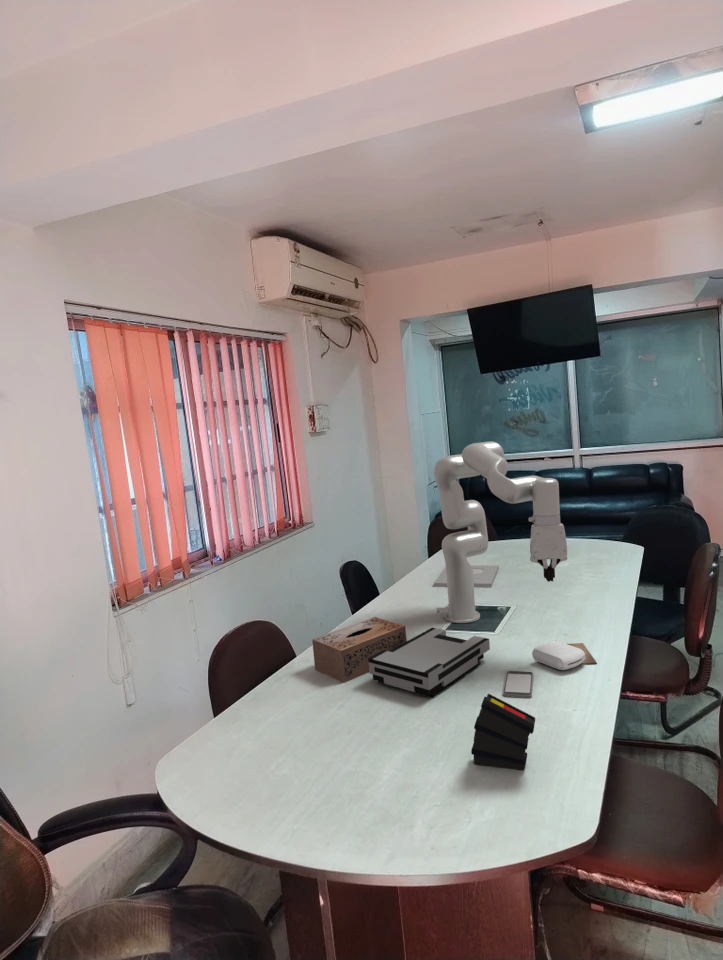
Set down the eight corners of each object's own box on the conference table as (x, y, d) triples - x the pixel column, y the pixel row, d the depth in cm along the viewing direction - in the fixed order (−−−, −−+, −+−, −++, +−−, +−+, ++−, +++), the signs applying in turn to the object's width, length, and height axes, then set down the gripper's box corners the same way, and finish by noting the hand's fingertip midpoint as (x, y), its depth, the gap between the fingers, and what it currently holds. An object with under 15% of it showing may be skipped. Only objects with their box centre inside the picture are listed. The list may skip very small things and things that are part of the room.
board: (554, 665, 180) (554, 664, 180) (543, 646, 195) (543, 644, 195) (596, 664, 179) (596, 662, 179) (582, 644, 194) (582, 643, 194)
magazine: (461, 747, 138) (486, 691, 134) (517, 778, 135) (545, 721, 131) (457, 756, 135) (484, 699, 131) (515, 788, 131) (544, 730, 127)
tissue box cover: (377, 645, 208) (375, 616, 207) (407, 656, 197) (405, 625, 195) (315, 670, 191) (312, 639, 190) (344, 683, 180) (341, 650, 179)
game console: (490, 661, 188) (488, 634, 187) (430, 703, 164) (428, 673, 163) (433, 648, 202) (431, 623, 201) (370, 685, 178) (368, 658, 177)
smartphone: (533, 671, 176) (531, 695, 162) (533, 675, 176) (531, 699, 162) (506, 670, 178) (502, 694, 164) (506, 674, 178) (502, 698, 164)
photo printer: (555, 638, 188) (589, 649, 178) (555, 651, 189) (589, 663, 178) (531, 647, 183) (564, 659, 172) (531, 661, 184) (565, 674, 173)
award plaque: (434, 587, 270) (433, 582, 270) (446, 569, 298) (446, 565, 298) (491, 588, 262) (491, 583, 262) (498, 570, 290) (498, 565, 290)
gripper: (523, 524, 181) (526, 585, 183) (575, 520, 179) (578, 582, 181) (519, 519, 188) (522, 578, 190) (569, 516, 187) (572, 575, 189)
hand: (549, 580), depth 186 cm, fingers closed
